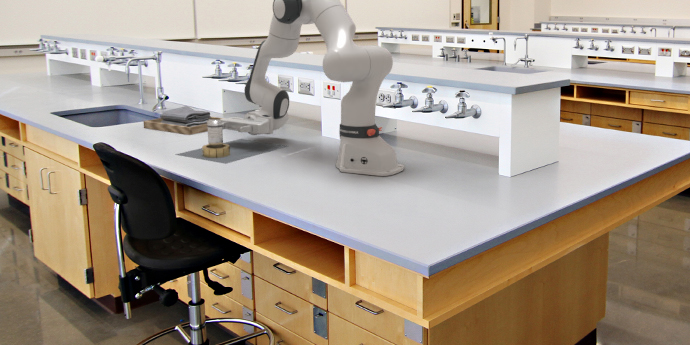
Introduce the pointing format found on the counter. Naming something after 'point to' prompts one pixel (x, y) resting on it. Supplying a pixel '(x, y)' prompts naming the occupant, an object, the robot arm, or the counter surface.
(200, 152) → the bench mat
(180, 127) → the towel frame
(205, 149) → the brass ring collar
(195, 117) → the towel
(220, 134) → the clear lidded jar
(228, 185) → the counter surface
